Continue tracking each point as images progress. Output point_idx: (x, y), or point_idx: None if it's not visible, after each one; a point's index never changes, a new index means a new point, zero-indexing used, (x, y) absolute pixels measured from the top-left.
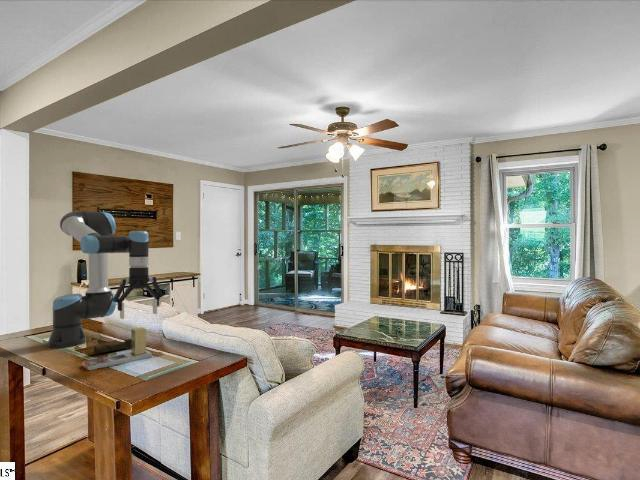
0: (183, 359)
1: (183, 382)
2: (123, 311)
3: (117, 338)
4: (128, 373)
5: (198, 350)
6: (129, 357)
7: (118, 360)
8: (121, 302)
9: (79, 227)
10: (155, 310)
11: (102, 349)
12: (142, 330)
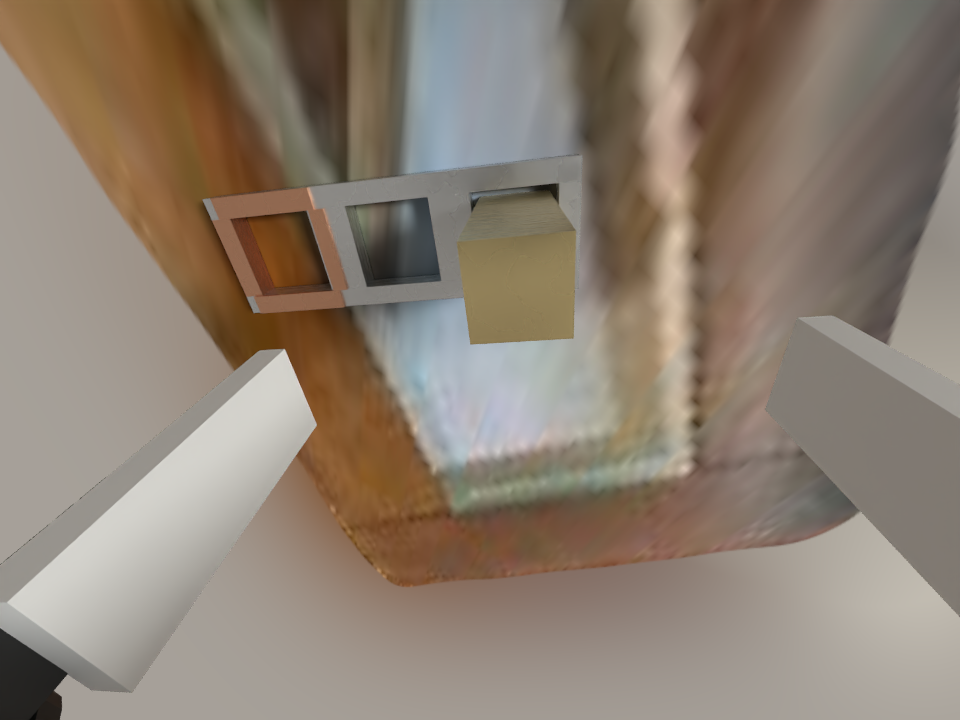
0: (662, 419)
1: (533, 572)
2: (249, 506)
3: None
4: (417, 433)
5: None
6: (447, 292)
7: (389, 302)
8: (50, 710)
9: None
10: (810, 451)
11: None
12: (538, 335)
